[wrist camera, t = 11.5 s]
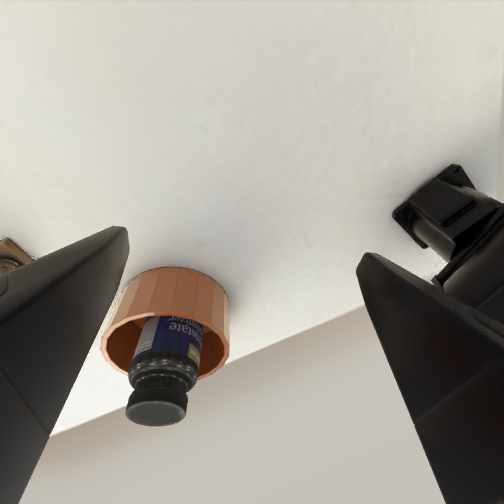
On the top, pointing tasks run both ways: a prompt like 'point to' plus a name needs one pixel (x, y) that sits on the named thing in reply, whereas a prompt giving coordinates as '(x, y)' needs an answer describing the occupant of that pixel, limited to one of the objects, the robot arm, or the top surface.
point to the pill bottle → (164, 370)
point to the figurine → (11, 257)
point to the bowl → (169, 304)
